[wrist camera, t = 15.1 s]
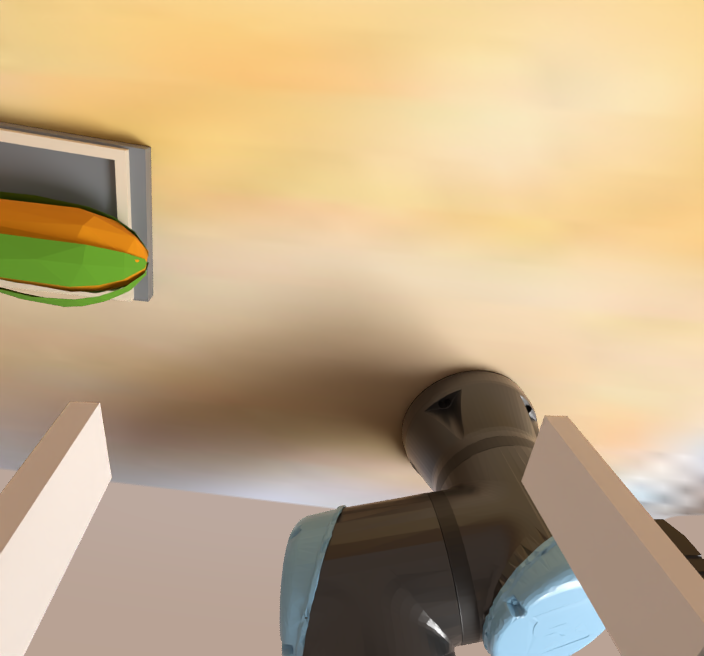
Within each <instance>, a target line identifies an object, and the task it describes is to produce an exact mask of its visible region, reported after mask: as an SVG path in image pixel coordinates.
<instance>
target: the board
mask: <svg viewBox="0 0 704 656" xmlns="http://www.w3.org/2000/svg"><path fill="white" fill-rule="evenodd" d="M0 191H1V192H10V193H19V194H28V195H36V196H41V197H46V198H50V199H55V200H60V201H65V202H69V203H74V204H79V205H83V206H88V207H91V208H94V209H96V210H98V211H101V212H103V213H106V214H108V215H111V216H113V217H115V218H116V219H118V220H119V221H121V222H122V223H123V224H125V225H126V226H128V227H129V228H130V229H132V230H133V231H135V233H136V234H137V235H138V237H139V238H140V239H141V241H142V242H143V244H144V245H145V247H146V248H147V250H148V251H149V256H148V259H147V262H149V264H148V267H147V272H146V271H145V272H146V276H145V277H144V278H143V279H142V280H141V281H140V282H139V283H138V284H137V285H136V286H135V287H134V288H133V289H132V290H130V291H128V292H126V293H124V294H122V295H119V296H117V297H115V298H113V299H112V300H121V301H130V302H131V301H132V300H139V301H149V300H150V299H151V297H152V296H153V260H152V196H151V147H147V146H141V145H135V144H129V143H123V142H117V141H111V140H105V139H100V138H94V137H88V136H82V135H76V134H70V133H64V132H58V131H52V130H46V129H40V128H34V127H28V126H22V125H17V124H11V123H5V122H0ZM0 287H6V288H15V289H24V290H32V291H41V292H50V293H59V294H68V295H77V296H85V297H96V296H101V295H104V294H107V293H110V292H113V291H116V290H119V289H122V288H119V289H114V290H110V291H105V292H100V293H89V292H82V291H80V292H69V291H64V290H58V289H52V288H47V287H41V286H35V285H30V284H22V283H15V282H10V281H5V280H0Z"/></svg>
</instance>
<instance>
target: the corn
mask: <svg viewBox="0 0 704 656" xmlns="http://www.w3.org/2000/svg"><path fill="white" fill-rule="evenodd" d="M148 256H149V251H148V250H147V248H146V247H145V245H144V244H143V242H142V241H141V239H140V238H139V237H138V235H137V234H136V233H135V231H133V230H132V229H130V228H129V227H128V226H126V225H125V224H123V223H122V222H121V221H119V220H118V219H116V218H115V217H113V216H111V215H108V214H106V213H103V212H101V211H98V210H96V209H94V208H91V207H88V206H83V205H79V204H74V203H69V202H65V201H60V200H55V199H50V198H46V197H41V196H36V195H28V194H19V193H10V192H1V191H0V280H5V281H10V282H15V283H22V284H30V285H35V286H41V287H47V288H52V289H58V290H64V291H69V292H80V291H82V292H89V293H100V292H105V291H110V290H114V289H119V288H122V289H119V290H116V291H113V292H110V293H107V294H104V295H101V296H96V297H90V298H83V299H76V300H72V299H57V298H44V297H39V296H34V295H29V294H24V293H20V292H16V291H13V290H9V289H5V288H0V292H1V293H4V294H7V295H11V296H14V297H17V298H20V299H24V300H30V301H35V302H41V303H46V304H52V305H58V306H63V307H71V306H85V305H90V304H95V303H99V302H104V301H107V300H110V299H113V298H115V297H117V296H119V295H122V294H124V293H126V292H128V291H130V290H132V289H133V288H134V287H135V286H136V285H137V284H138V283H139V282H140V281H141V280H142V279H143V278H144V277H145V276H146V272H147V267H148V264H149V262H147V259H148ZM145 271H146V272H145Z"/></svg>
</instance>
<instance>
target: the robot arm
mask: <svg viewBox="0 0 704 656" xmlns="http://www.w3.org/2000/svg"><path fill="white" fill-rule="evenodd" d="M402 440H403V444H404V447H405V451H406V454H407V457H408V459H409V461H410V463H411V465H412V466H413V468H414V469H415V470H416V471H417V472H418V473H419V474H420V475H421V476H422V477H423V479H424V480H425V481H426V483H427V484H428V485H429V486H430V488H431V489H432V490H433V491H434V492H430V493H423V494H418V495H413V496H408V497H403V498H397V499H391V500H385V501H380V502H374V503H368V504H363V505H357V506H351V507H346V506H345V505H342V506H339V507H338V508H337V509H335V510H331V511H327V512H323V513H319V514H315V515H310V516H307V517H305V518H303V519H302V520H300V521H299V522H298V523H297V524H296V526H295V527H294V529H293V530H292V532H291V534H290V537H289V540H288V544H287V548H286V553H285V557H284V563H283V571H282V581H281V595H280V636H281V641H282V656H455V652H454V647H456V646H460V645H466V644H471V643H476V642H481V641H483V643H484V646H485V649H486V650H487V651H488V653H489V654H491V656H570V655H572V654H573V653H575V652H577V651H579V650H580V649H582V648H583V647H584V646H586V645H587V644H589V643H590V642H591V641H593V640H594V639H595V638H596V637H597V636H598V635H599V634H601V633H602V632H603V631H604V630H605V629H606V630H607V632H608V633H609V635H610V637H611V639H612V640H613V642H614V644H615V646H616V647H617V649H618V651H619V652H620V654H621V656H704V559H702V557H701V554H700V553H699V552H698V551H697V550H696V548H695V547H694V546H693V545H692V544H691V543H690V542H689V540H688V539H687V538H686V537H685V536H684V535H683V534H681V533H680V532H679V531H678V530H676V529H675V528H674V527H672V526H671V525H670V524H668V523H667V522H666V521H665V520H663V519H653V518H652V517H651V516H650V514H649V513H648V512H647V511H646V510H645V508H644V507H643V506H642V505H641V504H640V503H639V501H638V500H637V499H636V498H635V497H634V495H633V494H632V493H631V492H630V491H629V489H628V488H627V487H626V486H625V485H624V483H623V482H622V481H621V480H620V479H619V477H618V476H617V475H616V474H615V473H614V471H613V470H612V469H611V468H610V467H609V465H608V464H607V463H606V462H605V461H604V459H603V458H602V457H601V456H600V455H599V453H598V452H597V451H596V450H595V449H594V447H593V446H592V445H591V444H590V443H589V441H588V440H587V439H586V438H585V437H584V435H583V434H582V433H581V432H580V431H579V430H578V428H577V427H576V426H575V425H574V424H573V422H572V421H571V420H570V419H569V418H568V416H544V419H543V422H542V425H541V428H540V430H539V429H538V424H537V419H536V414H535V411H534V408H533V406H532V404H531V402H530V401H529V399H528V398H527V397H526V395H525V394H524V393H523V391H522V390H521V389H520V387H519V386H518V385H517V384H516V383H514V382H513V381H512V380H510V379H509V378H507V377H505V376H502V375H500V374H497V373H493V372H487V371H469V372H463V373H458V374H454V375H451V376H449V377H446V378H444V379H442V380H440V381H438V382H436V383H434V384H433V385H431V386H430V387H428V388H427V389H426V390H424V391H423V392H422V393H421V394H420V395H419V396H418V397H417V398H416V399H415V400H414V401H413V403H412V404H411V406H410V407H409V409H408V411H407V413H406V415H405V417H404V420H403V424H402ZM111 478H112V476H111V470H110V464H109V457H108V451H107V444H106V438H105V431H104V425H103V419H102V412H101V406H100V402H72V401H70V402H69V404H68V405H67V406H66V407H65V409H64V410H63V411H62V413H61V414H60V415H59V417H58V418H57V419H56V421H55V422H54V423H53V425H52V426H51V427H50V429H49V430H48V431H47V433H46V434H45V435H44V437H43V438H42V439H41V441H40V442H39V443H38V445H37V446H36V447H35V448H34V450H33V451H32V452H31V454H30V455H29V456H28V458H27V459H26V460H25V462H24V463H23V464H22V466H21V467H20V468H19V470H18V471H17V472H16V474H15V475H14V476H13V478H12V479H11V480H10V482H9V483H8V484H7V486H6V487H5V488H4V489H3V491H2V492H1V494H0V656H24V654H25V652H26V650H27V648H28V646H29V644H30V642H31V640H32V638H33V636H34V634H35V632H36V630H37V628H38V625H39V624H40V622H41V620H42V618H43V616H44V614H45V612H46V609H47V608H48V605H49V603H50V601H51V599H52V597H53V595H54V593H55V591H56V589H57V587H58V585H59V583H60V581H61V579H62V577H63V575H64V573H65V571H66V569H67V567H68V565H69V563H70V561H71V559H72V557H73V555H74V553H75V551H76V549H77V547H78V545H79V543H80V541H81V539H82V537H83V535H84V533H85V531H86V529H87V527H88V525H89V522H90V521H91V518H92V516H93V515H94V512H95V511H96V509H97V507H98V505H99V502H100V500H101V498H102V496H103V494H104V492H105V490H106V488H107V486H108V484H109V482H110V480H111Z"/></svg>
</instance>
